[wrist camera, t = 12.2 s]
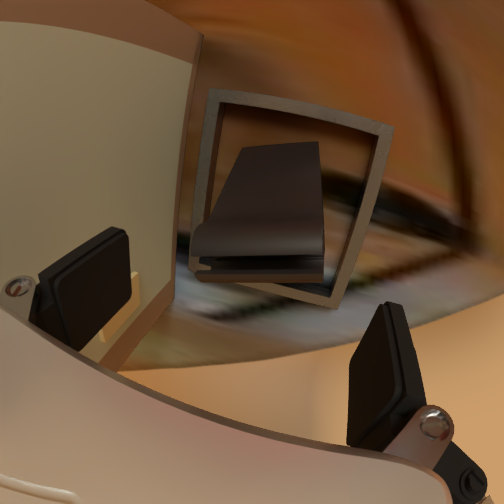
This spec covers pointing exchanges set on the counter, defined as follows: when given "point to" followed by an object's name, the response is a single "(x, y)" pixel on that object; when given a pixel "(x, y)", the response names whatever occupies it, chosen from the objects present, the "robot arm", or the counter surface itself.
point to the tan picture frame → (95, 144)
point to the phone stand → (267, 219)
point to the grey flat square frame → (365, 203)
